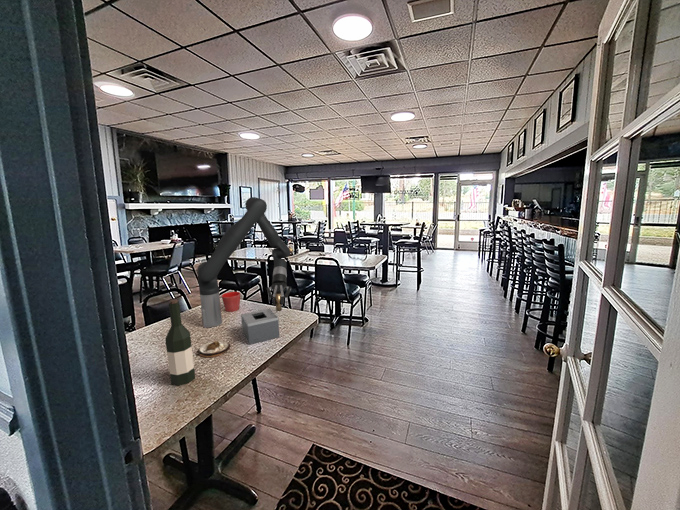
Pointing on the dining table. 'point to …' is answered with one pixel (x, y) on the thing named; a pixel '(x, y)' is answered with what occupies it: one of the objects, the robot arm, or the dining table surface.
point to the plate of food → (214, 349)
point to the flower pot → (231, 301)
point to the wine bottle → (179, 348)
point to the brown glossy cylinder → (278, 302)
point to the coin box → (260, 326)
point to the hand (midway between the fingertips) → (278, 304)
